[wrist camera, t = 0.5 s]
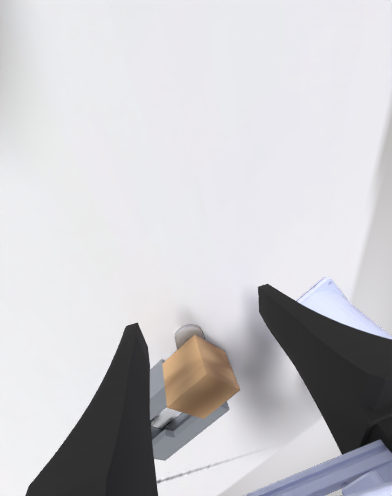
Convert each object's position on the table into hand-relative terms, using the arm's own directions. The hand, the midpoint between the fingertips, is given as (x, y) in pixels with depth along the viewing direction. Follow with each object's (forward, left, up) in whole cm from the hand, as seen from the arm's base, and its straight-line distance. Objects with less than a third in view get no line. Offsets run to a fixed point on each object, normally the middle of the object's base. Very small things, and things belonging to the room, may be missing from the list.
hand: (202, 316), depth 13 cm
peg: (-10, +8, -10) cm, 16 cm away
